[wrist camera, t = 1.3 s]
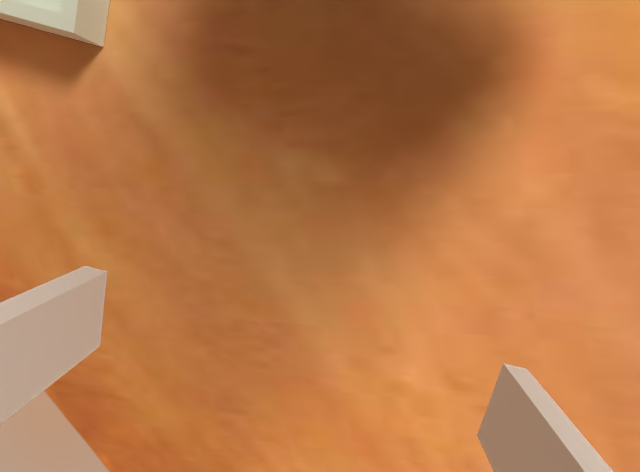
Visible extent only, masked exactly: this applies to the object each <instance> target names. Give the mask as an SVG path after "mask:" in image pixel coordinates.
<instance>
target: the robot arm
mask: <svg viewBox="0 0 640 472" xmlns="http://www.w3.org/2000/svg"><path fill="white" fill-rule="evenodd" d="M106 281H107V271H105V270H100V269H96V268H92V267H88V266H83V267H81V268H79V269H76V270H74V271H72V272H69V273H67V274H65V275H62V276H60V277H58V278H56V279H53V280H51V281H49V282H46V283H44V284H42V285H39V286H37V287H35V288H33V289H30V290H28V291H26V292H23V293H21V294H19V295H16V296H14V297H12V298H10V299H7V300H5V301H3V302H0V425H1V424H2V423H4V422H5V421H6V420H7V419H9V418H10V417H11V416H12V415H14V414H15V413H16V412H17V411H19V410H20V409H21V408H22V407H24V406H25V405H26V404H27V403H29V402H30V401H31V400H33V399H34V398H35V397H36V396H38V395H39V394H40V393H41V392H43V391H44V390H45V389H47V388H48V387H49V386H50V385H52V384H53V383H54V382H55V381H57V380H58V379H59V378H61V377H62V376H63V375H64V374H66V373H67V372H68V371H69V370H71V369H72V368H73V367H74V366H76V365H77V364H78V363H80V362H81V361H82V360H83V359H85V358H86V357H87V356H88V355H90V354H91V353H92V352H93V351H95V350H96V349H97V348H99V347H100V342H101V332H102V321H103V311H104V301H105V291H106ZM477 436H478V438H479V440H480V443H481V445H482V447H483V449H484V451H485V453H486V455H487V458H488V460H489V462H490V464H491V466H492V468H493V470H494V472H613V471H612V469H611V468H610V467H609V466H608V465H607V463H606V462H605V461H604V460H603V459H602V458H601V456H600V455H599V454H598V453H597V452H596V450H595V449H594V448H593V447H592V446H591V444H590V443H589V442H588V441H587V440H586V438H585V437H584V436H583V435H582V434H581V433H580V431H579V430H578V429H577V428H576V427H575V425H574V424H573V423H572V422H571V421H570V419H569V418H568V417H567V416H566V415H565V413H564V412H563V411H562V410H561V409H560V408H559V406H558V405H557V404H556V403H555V402H554V400H553V399H552V398H551V397H550V396H549V394H548V393H547V392H546V391H545V390H544V389H543V387H542V386H541V385H540V384H539V383H538V381H537V380H536V379H535V378H534V377H533V375H532V374H531V373H530V372H529V371H528V369H525V368H521V367H517V366H513V365H508V364H504V363H503V366H502V369H501V371H500V374H499V377H498V380H497V382H496V385H495V388H494V391H493V393H492V396H491V399H490V402H489V404H488V407H487V410H486V412H485V415H484V418H483V421H482V423H481V426H480V429H479V432H478V434H477Z"/></svg>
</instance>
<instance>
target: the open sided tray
mask: <svg viewBox="0 0 640 472" xmlns="http://www.w3.org/2000/svg"><path fill="white" fill-rule="evenodd" d="M109 4H110V0H0V19H3V20H6V21H10V22H14V23H17V24H21V25H25V26H28V27H32V28H35V29H39V30H43V31H46V32H50V33H54V34H57V35H61V36H64V37H68V38H72V39H75V40H79V41H83V42H86V43H90V44H93V45H97V46H101V47H103V46H104V39H105V32H106V25H107V18H108V11H109Z"/></svg>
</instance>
